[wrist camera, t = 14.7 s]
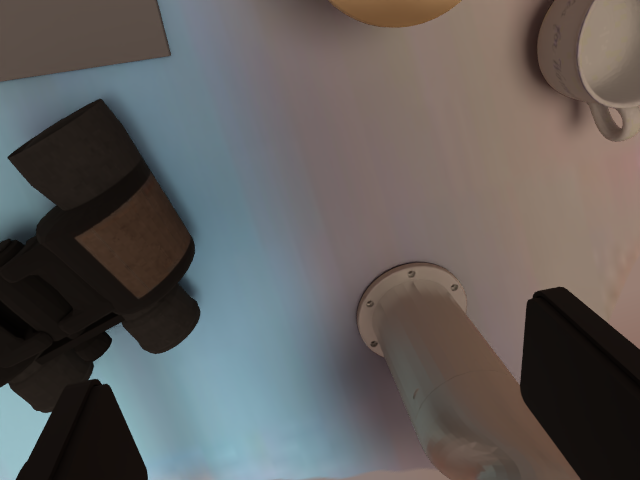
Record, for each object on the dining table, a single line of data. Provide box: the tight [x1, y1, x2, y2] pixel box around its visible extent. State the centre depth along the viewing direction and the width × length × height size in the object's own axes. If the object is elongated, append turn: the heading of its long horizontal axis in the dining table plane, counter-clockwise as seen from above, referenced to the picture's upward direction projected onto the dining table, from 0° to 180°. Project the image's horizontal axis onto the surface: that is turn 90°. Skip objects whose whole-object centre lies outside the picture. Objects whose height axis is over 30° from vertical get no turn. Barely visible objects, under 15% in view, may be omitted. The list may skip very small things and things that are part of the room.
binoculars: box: [0, 99, 200, 413], centre depth 40 cm, size 29×20×10 cm
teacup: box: [537, 0, 640, 142], centre depth 39 cm, size 14×11×8 cm
